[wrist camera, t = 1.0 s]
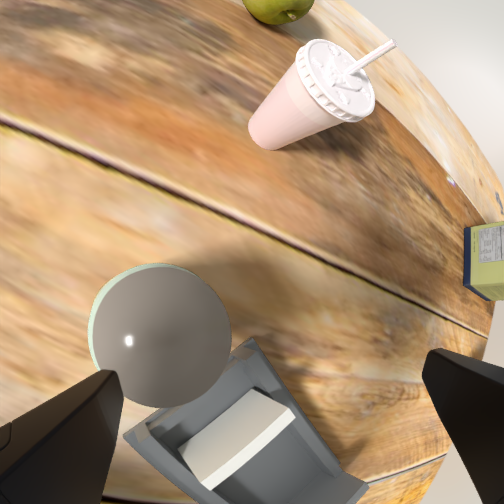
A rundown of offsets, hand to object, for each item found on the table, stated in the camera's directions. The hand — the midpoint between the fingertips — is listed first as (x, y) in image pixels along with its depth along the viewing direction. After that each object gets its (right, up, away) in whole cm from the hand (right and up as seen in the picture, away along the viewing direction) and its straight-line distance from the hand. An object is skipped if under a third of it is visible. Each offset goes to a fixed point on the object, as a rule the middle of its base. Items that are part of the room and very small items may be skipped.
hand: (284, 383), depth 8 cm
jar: (-8, -1, +11) cm, 14 cm away
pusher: (-3, -9, +12) cm, 15 cm away
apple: (0, +30, +20) cm, 36 cm away
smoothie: (0, +14, +18) cm, 23 cm away
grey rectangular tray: (-1, -14, +14) cm, 19 cm away
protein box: (+41, +1, +39) cm, 56 cm away
